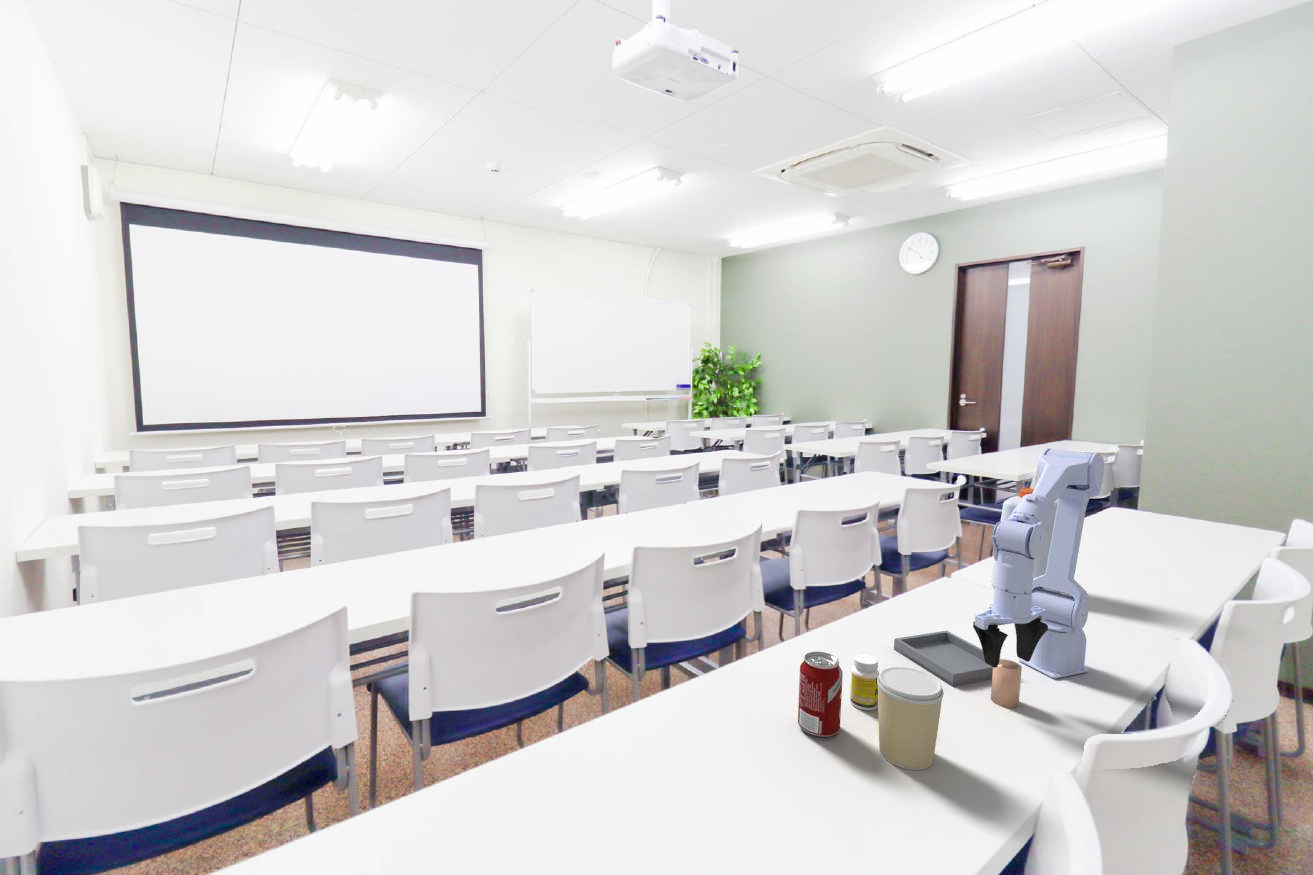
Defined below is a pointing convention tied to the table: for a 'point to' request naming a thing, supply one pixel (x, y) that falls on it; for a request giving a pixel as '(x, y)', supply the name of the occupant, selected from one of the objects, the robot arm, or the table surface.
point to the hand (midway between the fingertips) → (1007, 661)
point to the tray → (946, 657)
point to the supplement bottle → (864, 682)
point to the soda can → (820, 694)
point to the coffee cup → (908, 716)
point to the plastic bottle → (1044, 553)
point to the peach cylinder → (1006, 684)
